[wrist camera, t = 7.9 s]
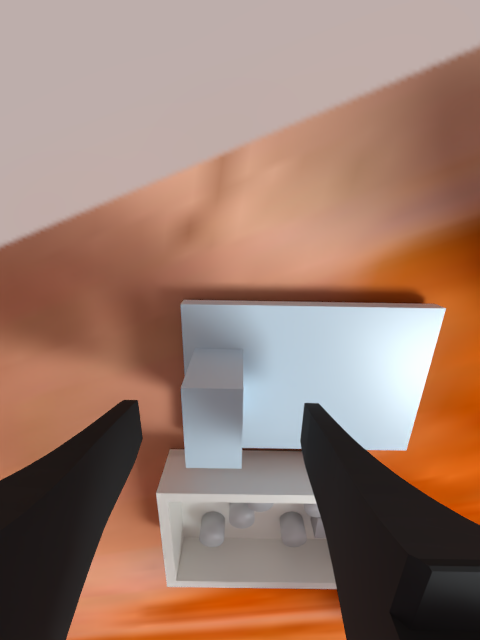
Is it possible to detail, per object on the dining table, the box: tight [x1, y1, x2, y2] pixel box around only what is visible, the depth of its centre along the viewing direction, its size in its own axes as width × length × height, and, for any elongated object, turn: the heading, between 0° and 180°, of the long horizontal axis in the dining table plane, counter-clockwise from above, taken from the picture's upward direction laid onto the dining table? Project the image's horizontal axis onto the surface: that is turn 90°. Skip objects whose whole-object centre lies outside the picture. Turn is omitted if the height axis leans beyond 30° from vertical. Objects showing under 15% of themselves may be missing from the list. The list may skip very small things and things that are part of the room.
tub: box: [156, 449, 337, 589], centre depth 17 cm, size 8×12×3 cm, turn 89°
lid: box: [181, 300, 446, 469], centre depth 13 cm, size 9×13×4 cm
